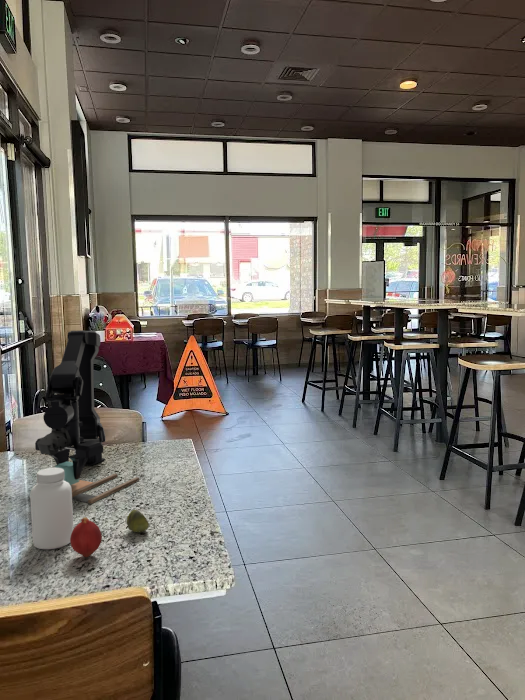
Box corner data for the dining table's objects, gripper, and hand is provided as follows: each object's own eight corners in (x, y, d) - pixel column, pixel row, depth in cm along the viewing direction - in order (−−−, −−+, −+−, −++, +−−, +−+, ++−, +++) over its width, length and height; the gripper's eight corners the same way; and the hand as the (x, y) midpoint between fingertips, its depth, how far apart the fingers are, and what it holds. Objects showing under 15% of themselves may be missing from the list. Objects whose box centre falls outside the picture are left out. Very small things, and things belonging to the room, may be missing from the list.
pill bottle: (82, 536, 118) (78, 467, 116) (56, 553, 110) (52, 479, 109) (51, 531, 120) (47, 463, 119) (24, 547, 113) (19, 475, 111)
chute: (65, 498, 139) (65, 495, 139) (114, 476, 155) (114, 473, 155) (91, 503, 136) (91, 500, 135) (139, 480, 152) (139, 477, 151)
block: (56, 484, 145) (55, 465, 144) (68, 479, 148) (67, 461, 148) (67, 486, 143) (66, 467, 142) (79, 481, 146) (78, 463, 146)
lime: (129, 527, 122) (128, 505, 121) (151, 527, 121) (151, 505, 121) (124, 536, 117) (123, 513, 117) (147, 536, 117) (146, 513, 116)
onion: (75, 550, 111) (73, 511, 110) (105, 548, 112) (103, 510, 111) (68, 564, 105) (65, 523, 105) (99, 562, 106) (97, 522, 105)
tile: (48, 490, 145) (47, 487, 145) (71, 481, 152) (71, 478, 152) (70, 495, 141) (70, 492, 141) (93, 485, 148) (93, 482, 148)
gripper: (16, 423, 142) (20, 482, 143) (70, 430, 133) (74, 493, 135) (50, 414, 151) (53, 469, 153) (103, 420, 143) (106, 479, 145)
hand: (70, 477), depth 146 cm, fingers closed on block, 4 cm apart
